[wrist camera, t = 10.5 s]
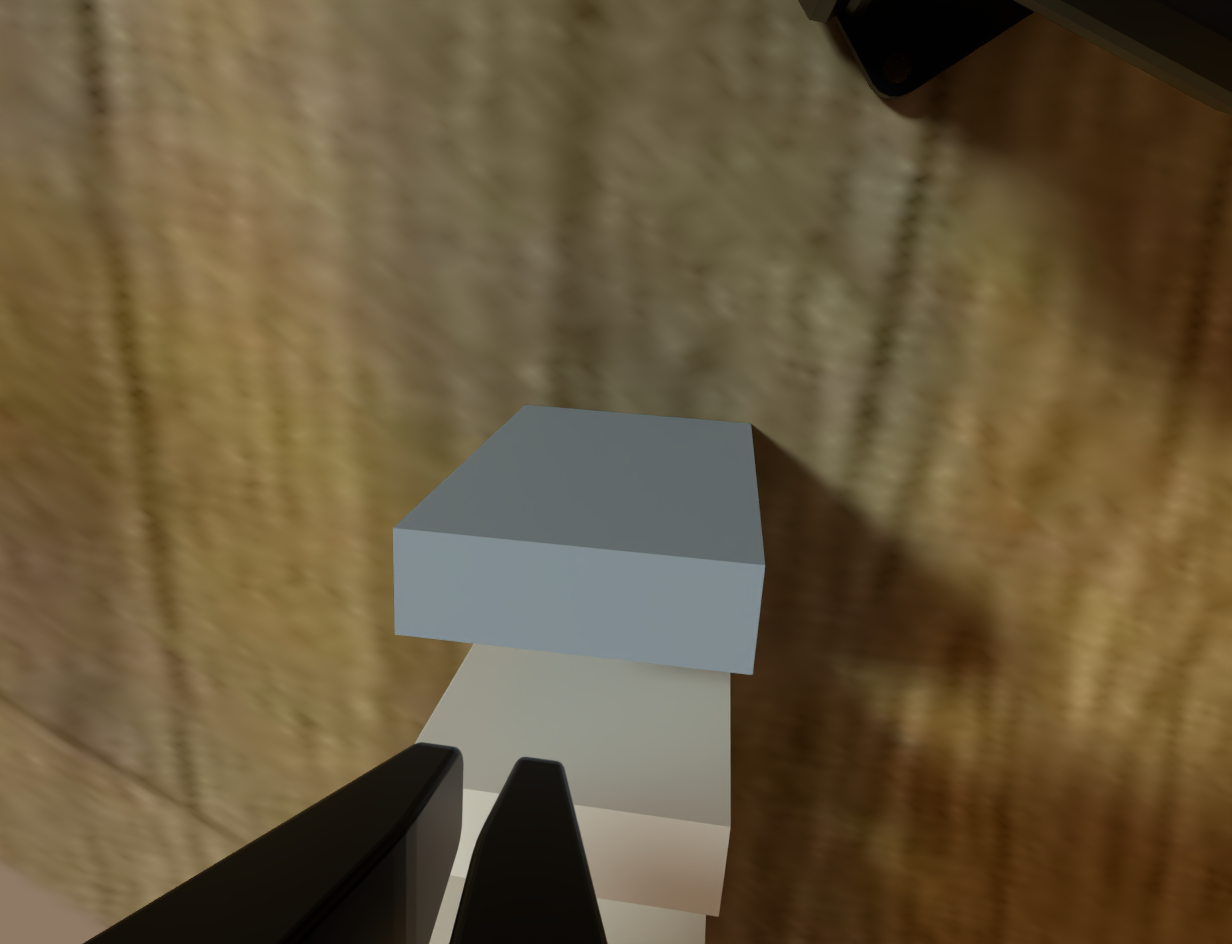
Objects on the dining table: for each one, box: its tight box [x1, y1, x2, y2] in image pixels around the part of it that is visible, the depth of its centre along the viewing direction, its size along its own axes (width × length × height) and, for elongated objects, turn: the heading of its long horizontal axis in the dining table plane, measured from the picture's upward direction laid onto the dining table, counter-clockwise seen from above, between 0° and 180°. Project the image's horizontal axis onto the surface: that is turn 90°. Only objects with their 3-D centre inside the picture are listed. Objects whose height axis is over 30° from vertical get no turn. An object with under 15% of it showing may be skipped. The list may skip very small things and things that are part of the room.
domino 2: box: [415, 643, 731, 917], centre depth 17 cm, size 2×5×8 cm, turn 86°
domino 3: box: [429, 875, 706, 944], centre depth 18 cm, size 2×5×8 cm, turn 86°
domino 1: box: [393, 405, 765, 675], centre depth 16 cm, size 2×5×8 cm, turn 87°
